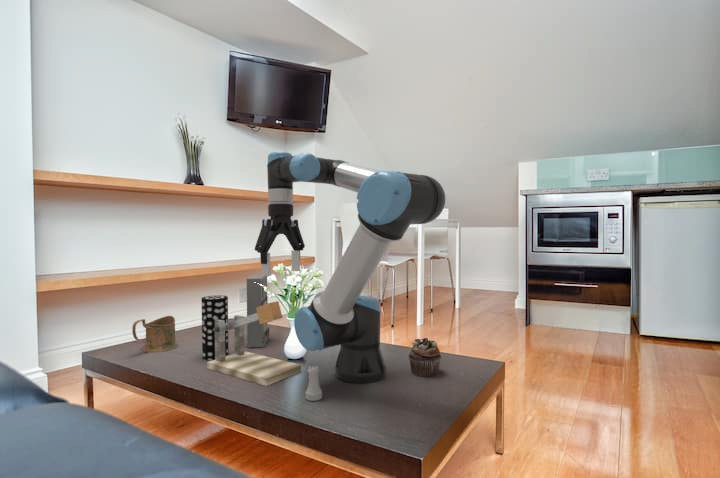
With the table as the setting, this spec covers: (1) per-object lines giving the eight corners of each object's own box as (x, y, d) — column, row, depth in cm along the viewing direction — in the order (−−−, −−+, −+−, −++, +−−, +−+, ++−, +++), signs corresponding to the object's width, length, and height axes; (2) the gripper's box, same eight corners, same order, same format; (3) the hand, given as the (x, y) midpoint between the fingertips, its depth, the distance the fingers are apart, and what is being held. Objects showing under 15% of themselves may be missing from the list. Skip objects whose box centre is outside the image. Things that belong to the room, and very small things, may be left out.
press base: (301, 371, 127) (300, 323, 126) (266, 386, 115) (266, 333, 115) (243, 356, 141) (242, 313, 141) (207, 368, 130) (206, 321, 129)
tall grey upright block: (264, 347, 152) (263, 278, 151) (246, 348, 152) (246, 278, 151) (269, 337, 166) (269, 274, 165) (254, 338, 166) (253, 274, 165)
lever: (282, 317, 123) (278, 301, 124) (273, 319, 120) (269, 302, 121) (233, 333, 136) (229, 318, 137) (224, 335, 133) (220, 320, 134)
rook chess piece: (301, 398, 107) (301, 366, 107) (315, 393, 110) (315, 362, 110) (312, 403, 104) (312, 371, 104) (326, 398, 107) (326, 366, 107)
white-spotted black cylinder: (232, 353, 146) (231, 295, 145) (222, 360, 137) (221, 299, 137) (209, 352, 146) (208, 295, 146) (197, 360, 138) (196, 299, 138)
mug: (120, 355, 144) (120, 320, 143) (160, 342, 160) (159, 310, 160) (147, 358, 140) (147, 322, 140) (185, 344, 157) (184, 312, 156)
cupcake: (447, 372, 125) (447, 339, 125) (426, 380, 119) (426, 345, 119) (423, 364, 133) (423, 332, 132) (401, 371, 126) (401, 338, 126)
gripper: (296, 205, 142) (297, 268, 142) (241, 202, 120) (242, 276, 121) (314, 205, 138) (315, 269, 139) (260, 200, 117) (262, 277, 117)
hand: (281, 273), depth 130 cm, fingers open, 13 cm apart
